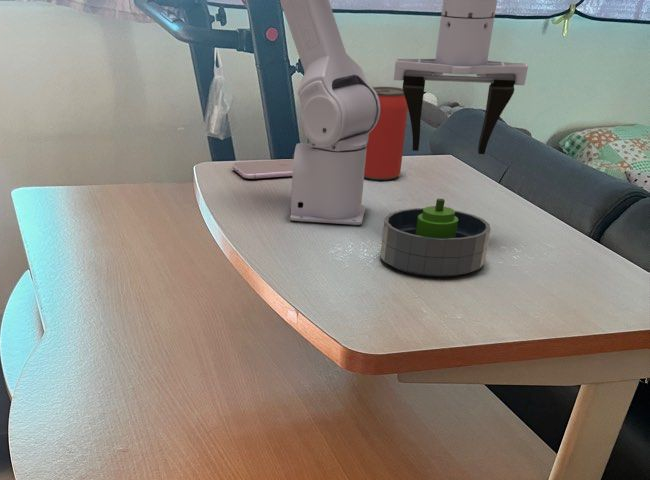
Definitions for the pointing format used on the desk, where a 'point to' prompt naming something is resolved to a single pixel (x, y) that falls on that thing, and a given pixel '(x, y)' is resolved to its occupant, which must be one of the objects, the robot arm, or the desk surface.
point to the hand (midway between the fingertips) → (448, 150)
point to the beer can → (387, 136)
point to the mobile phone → (265, 169)
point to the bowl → (434, 245)
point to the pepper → (437, 221)
